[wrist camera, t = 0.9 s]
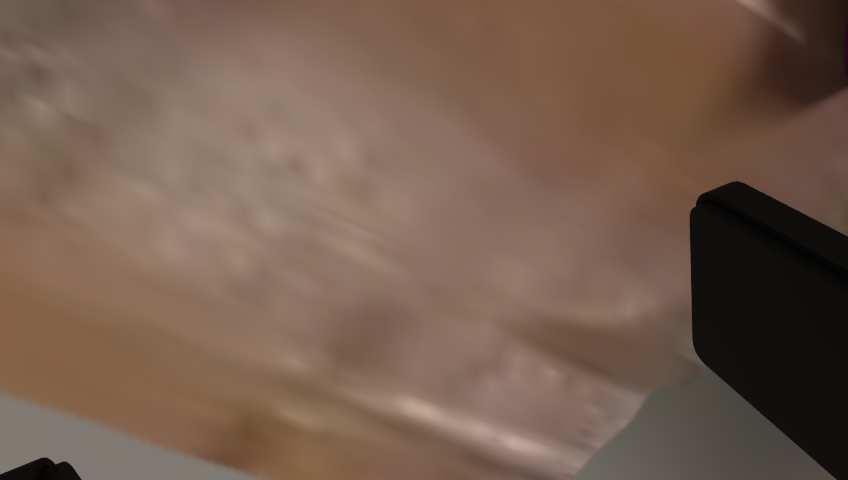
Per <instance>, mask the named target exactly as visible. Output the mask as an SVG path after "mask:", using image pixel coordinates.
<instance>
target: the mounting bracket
mask: <svg viewBox="0 0 848 480" xmlns="http://www.w3.org/2000/svg"><path fill="white" fill-rule="evenodd" d="M845 67H846V70H847V73H848V26H847V28H846V39H845Z"/></svg>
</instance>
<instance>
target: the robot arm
mask: <svg viewBox="0 0 848 480" xmlns="http://www.w3.org/2000/svg"><path fill="white" fill-rule="evenodd" d="M690 250H691V292H692V334H693V345H694V348H695V351H696V353H697V355H698V356H699V358H700V359H701V361H702V362H703V363H704V364H705V365H706V366H708V367H709V368H710V369H711V370H712V371H714V373H716V374H717V375H718V376H719V377H720V378H721V379H723V380H724V381H725V382H726V383H727V384H728V385H729V386H730V387H732V388H733V389H734V390H735V391H736V392H737V393H738V394H740V395H741V396H742V397H743V398H744V399H745V400H746V401H748V402H749V403H750V404H751V405H752V406H753V407H754V408H756V409H757V410H758V411H759V412H760V413H761V414H762V415H764V416H765V417H766V418H767V419H768V420H769V421H770V422H772V423H773V424H774V425H775V426H776V427H777V428H778V429H780V430H781V431H782V432H783V433H784V434H785V435H786V436H788V437H789V438H790V439H791V440H792V441H793V442H794V443H796V444H797V445H798V446H799V447H800V448H801V449H802V450H804V451H805V452H806V453H807V454H808V455H809V456H810V457H812V458H813V459H814V460H815V461H816V462H817V463H818V464H820V465H821V466H822V467H823V468H824V469H825V470H826V471H828V472H829V473H830V474H831V475H832V476H833V477H834V478H836V479H837V480H848V237H847V236H846V235H844V234H842V233H840V232H838V231H836V230H834V229H832V228H830V227H828V226H826V225H824V224H822V223H820V222H818V221H816V220H815V219H813V218H811V217H809V216H807V215H805V214H803V213H801V212H799V211H797V210H795V209H793V208H791V207H789V206H787V205H785V204H783V203H781V202H780V201H778V200H776V199H774V198H772V197H770V196H768V195H766V194H764V193H762V192H760V191H758V190H756V189H754V188H752V187H750V186H748V185H746V184H744V183H742V182H739V181H736V182H731V183H728V184H726V185H723V186H721V187H718V188H716V189H713V190H711V191H708V192H706V193H703V194H702V195H700V196H699V198H698V200H697V202H696V207H694V208H693V209H692V210H691V212H690ZM0 480H81V478H80V477H79V476H78V474H77V473H76V471H75V470H74V468H73V467H72V466H71V465H70V464H69V463H67V462H61V463H59V464H56V465H55V464H54V462H53V461H51V460H50V459H48V458H40V459H38V460H35V461H33V462H30V463H28V464H25V465H23V466H20V467H18V468H15V469H13V470H10V471H8V472H5V473H3V474H0Z"/></svg>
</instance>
